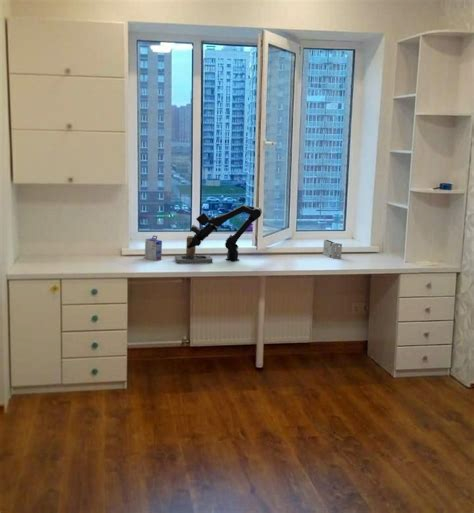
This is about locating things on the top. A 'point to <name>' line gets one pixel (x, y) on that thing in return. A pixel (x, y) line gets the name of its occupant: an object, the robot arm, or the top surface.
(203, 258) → the grey flat block
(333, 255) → the hinge
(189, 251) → the walnut peg
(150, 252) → the ink cartridge box
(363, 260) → the top surface
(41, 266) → the top surface
